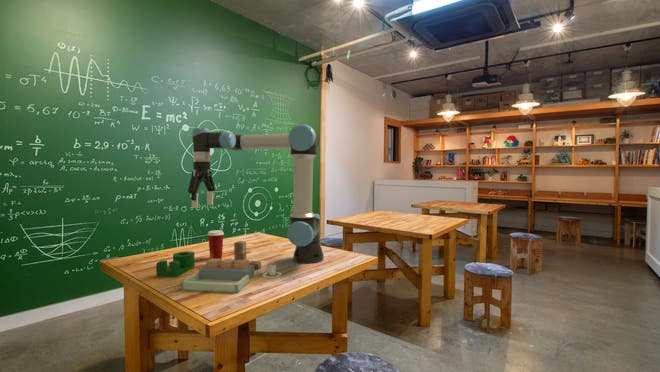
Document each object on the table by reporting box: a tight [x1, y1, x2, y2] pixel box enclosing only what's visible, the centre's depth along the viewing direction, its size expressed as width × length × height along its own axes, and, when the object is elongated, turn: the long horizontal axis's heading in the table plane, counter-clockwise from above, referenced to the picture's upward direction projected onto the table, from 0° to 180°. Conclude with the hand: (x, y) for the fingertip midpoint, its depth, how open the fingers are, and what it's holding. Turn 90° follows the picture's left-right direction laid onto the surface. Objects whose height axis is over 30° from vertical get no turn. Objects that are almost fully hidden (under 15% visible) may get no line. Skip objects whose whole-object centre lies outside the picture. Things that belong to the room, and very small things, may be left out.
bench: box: [198, 264, 255, 281], centre depth 134 cm, size 20×9×4 cm, turn 83°
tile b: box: [220, 258, 235, 268], centre depth 134 cm, size 4×4×2 cm
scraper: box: [233, 240, 262, 271], centre depth 147 cm, size 18×4×12 cm, turn 82°
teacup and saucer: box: [262, 264, 282, 279], centre depth 138 cm, size 9×8×4 cm
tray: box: [179, 272, 250, 294], centre depth 124 cm, size 22×11×3 cm, turn 82°
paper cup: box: [206, 229, 225, 260], centre depth 161 cm, size 8×8×14 cm
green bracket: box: [155, 250, 196, 278], centre depth 144 cm, size 18×9×6 cm, turn 175°
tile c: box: [205, 258, 223, 268], centre depth 135 cm, size 4×4×2 cm
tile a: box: [234, 259, 250, 269], centre depth 133 cm, size 4×4×2 cm
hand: (202, 206), depth 153 cm, fingers open, 13 cm apart
